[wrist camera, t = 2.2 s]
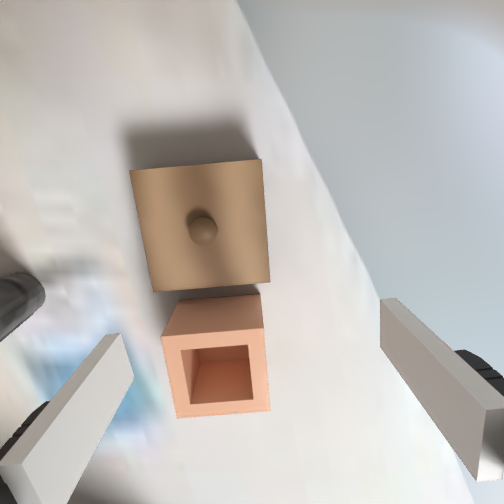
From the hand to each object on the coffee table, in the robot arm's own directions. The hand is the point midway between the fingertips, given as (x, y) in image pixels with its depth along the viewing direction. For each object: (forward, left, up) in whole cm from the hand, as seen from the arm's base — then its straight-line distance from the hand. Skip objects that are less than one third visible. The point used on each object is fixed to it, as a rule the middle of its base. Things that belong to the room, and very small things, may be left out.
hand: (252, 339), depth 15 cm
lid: (-4, +3, -16) cm, 16 cm away
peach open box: (-4, -10, -16) cm, 19 cm away
